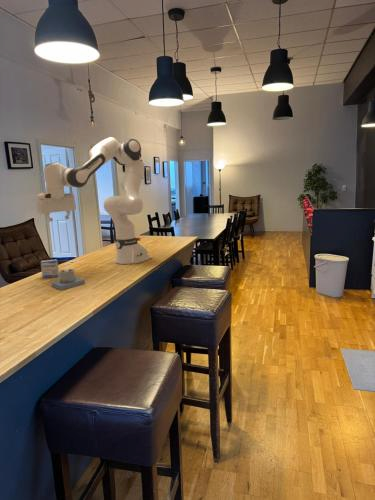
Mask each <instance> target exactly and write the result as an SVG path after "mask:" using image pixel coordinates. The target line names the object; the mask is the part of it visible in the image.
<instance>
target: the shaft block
mask: <svg viewBox="0 0 375 500" xmlns="http://www.w3.org/2000/svg"><path fill="white" fill-rule="evenodd" d="M69 269H70V268H66V270H65V269H63V270H64V272H69ZM50 283H51V284H50V285H51V287H53V288H56V289H57V290H60V291H64V290H68V289H71V288H74V287H79V286H81V285H85V284H86V281H85V279H84V278H81V277H77V276H75V281H73V282H70V283H62V282H60V279H59V280H53V281H51V282H50Z"/></svg>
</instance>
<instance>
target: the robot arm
mask: <svg viewBox="0 0 375 500" xmlns="http://www.w3.org/2000/svg"><path fill="white" fill-rule="evenodd" d="M88 154H89V158H90V159H89V160H88V161H87V162H86V163H84V164H83V165H81V166H78V167H73V168H72V167H71V168H69V167H67V166H65V165H62V164H61V163H60V162H58V161H55V162H49V163H46V164H45V165H44V168H43V175H44V176H43V177H44V181H45V184H46V185H45V191H44V192H41V193H39V194H37V199H38V200H37V202H36V206H37V207H36V208H37V212H38V214H40V215H44V214H45V217H46V218H47V219H48V222H49V223H50V222H54V221H53V218H52V217H51V214H52V213H60V212H62V213H63V212H65V213H66V215H65V216H64V219H65V220H69V219H70V215H71V211H75V210H76V209H77V205H76V200H75V199H76V198H75V195H74V193H71V192H67V193H65V187H70V188H77V189H78V188H82V187H85V186H86V185H87V183H88V181H89V179H90V178H91V176H93V174H95V173H96V172H97V171H98V170H99V169H100V168H101V167H102V166H103V165H105V164H106V163H108V162H109V161H110V160H112V159H113V160H114V161H115V162H116V164H118V165H120V166H125V170H124V173H123V176H122V178H121V182H120V188H121V189H122V190H123V194H122V195H112V196H109V197H106V198H105V199H104V201H103V209H104V211H105V212H106V213H107V214H108V215H109V216H110V218H111V220H112V222H113V224H114V230H115V247H116V253H115V254H116V255H115V261H114V262H115V263H116V264H121V265H122V264H123V265H128V264H139V263H142V262H145V261H147V260H150V259H153V257H152V256H151V255H149V254H148V250H147V248H146V247H144V246H143V245H142V244H140V243H139V242H140V241H141V240H142V238H141V237H136V234H135V225H134V223H133V222H132V221H130V219H129V217H128V216H134V215H138V214H140V213H142V211H143V208H144V202H143V200H142V199H141V198H140V195H139V192H140V188H141V184H142V180H143V179H144V173H145V163H144V162H143V161H142V160H140V159H141V158H142V146H141V144H140V142H139V141H138V140H137V139H135V138H129V139H127V140H125V141H124V142H123V143H120V142H119V141H118V140H117V139H116V138H115V137H111V136H110V137H107V138H104V139H103V140H101V141H99V142H98V143H96V144H95V145H94V146H92V147H91V149H90V150H89V153H88Z"/></svg>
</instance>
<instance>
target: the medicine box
mask: <svg viewBox="0 0 375 500" xmlns="http://www.w3.org/2000/svg"><path fill="white" fill-rule="evenodd" d="M40 268H41V276H42V279H49V278H57V277H60V275H59V272H60V270H59V263H58V259H56V258H55V259H47V260H41V261H40Z"/></svg>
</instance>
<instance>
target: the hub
mask: <svg viewBox="0 0 375 500" xmlns="http://www.w3.org/2000/svg"><path fill="white" fill-rule="evenodd" d="M66 269H67V268H66ZM66 269H62V270H59V280H60V282H62V283H70V282H73V281H75V277H76V274H75V273H76V272H75V269H74V268H68V269H69V272H64V270H66Z"/></svg>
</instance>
